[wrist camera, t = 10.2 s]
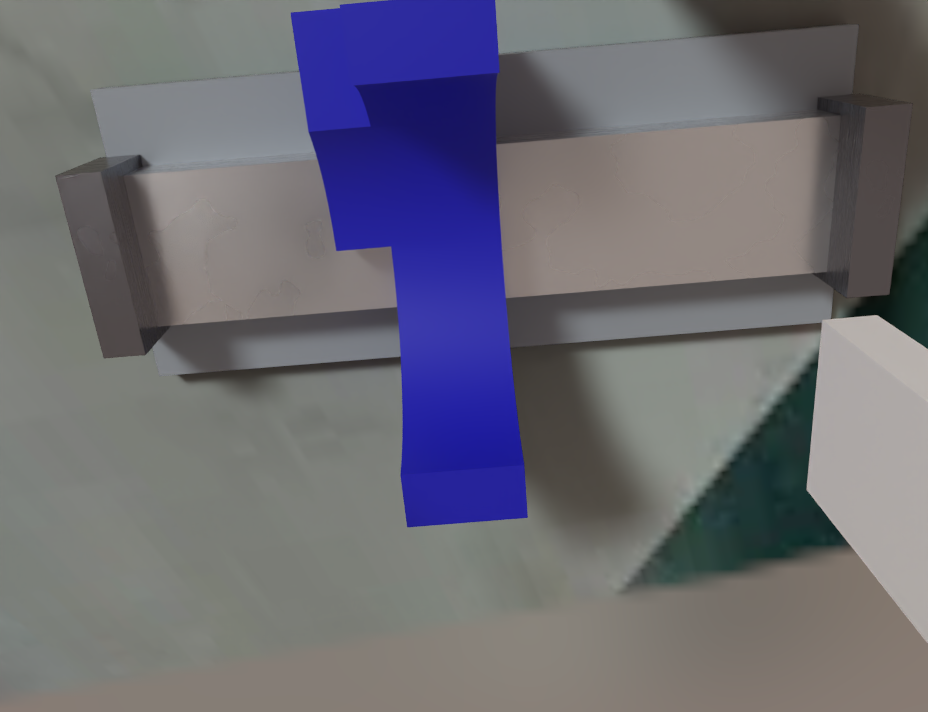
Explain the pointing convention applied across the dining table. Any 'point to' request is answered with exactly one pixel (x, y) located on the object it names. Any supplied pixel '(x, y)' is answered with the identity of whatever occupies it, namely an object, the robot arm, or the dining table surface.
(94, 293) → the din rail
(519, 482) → the cable clip
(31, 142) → the dining table surface
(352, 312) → the mount plate
